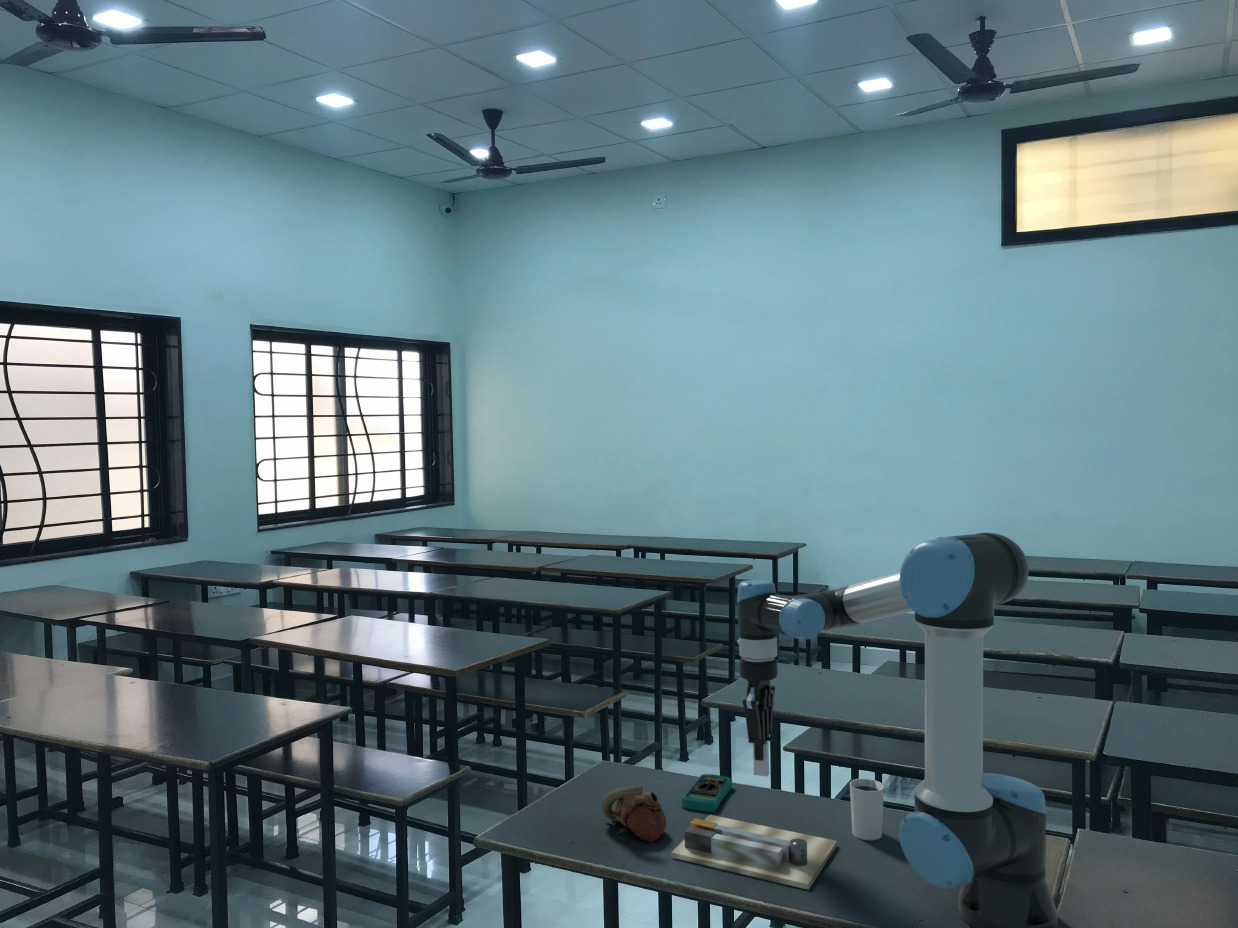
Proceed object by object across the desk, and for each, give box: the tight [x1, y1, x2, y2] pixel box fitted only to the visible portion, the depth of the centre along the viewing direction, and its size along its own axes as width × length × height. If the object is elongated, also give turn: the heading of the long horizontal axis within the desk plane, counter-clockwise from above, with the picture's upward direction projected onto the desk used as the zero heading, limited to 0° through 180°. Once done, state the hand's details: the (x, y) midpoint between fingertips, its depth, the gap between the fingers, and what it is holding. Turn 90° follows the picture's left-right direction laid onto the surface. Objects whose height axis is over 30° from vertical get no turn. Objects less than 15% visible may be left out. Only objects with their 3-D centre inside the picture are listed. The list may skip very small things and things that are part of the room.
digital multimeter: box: [681, 773, 733, 813], centre depth 201 cm, size 8×15×3 cm, turn 158°
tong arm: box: [689, 818, 807, 866], centre depth 173 cm, size 24×3×4 cm, turn 59°
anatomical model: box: [601, 785, 667, 843], centre depth 184 cm, size 13×9×15 cm
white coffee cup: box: [849, 778, 885, 841], centre depth 181 cm, size 7×7×10 cm
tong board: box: [670, 814, 838, 890], centre depth 174 cm, size 27×19×4 cm
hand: (761, 774), depth 180 cm, fingers closed
